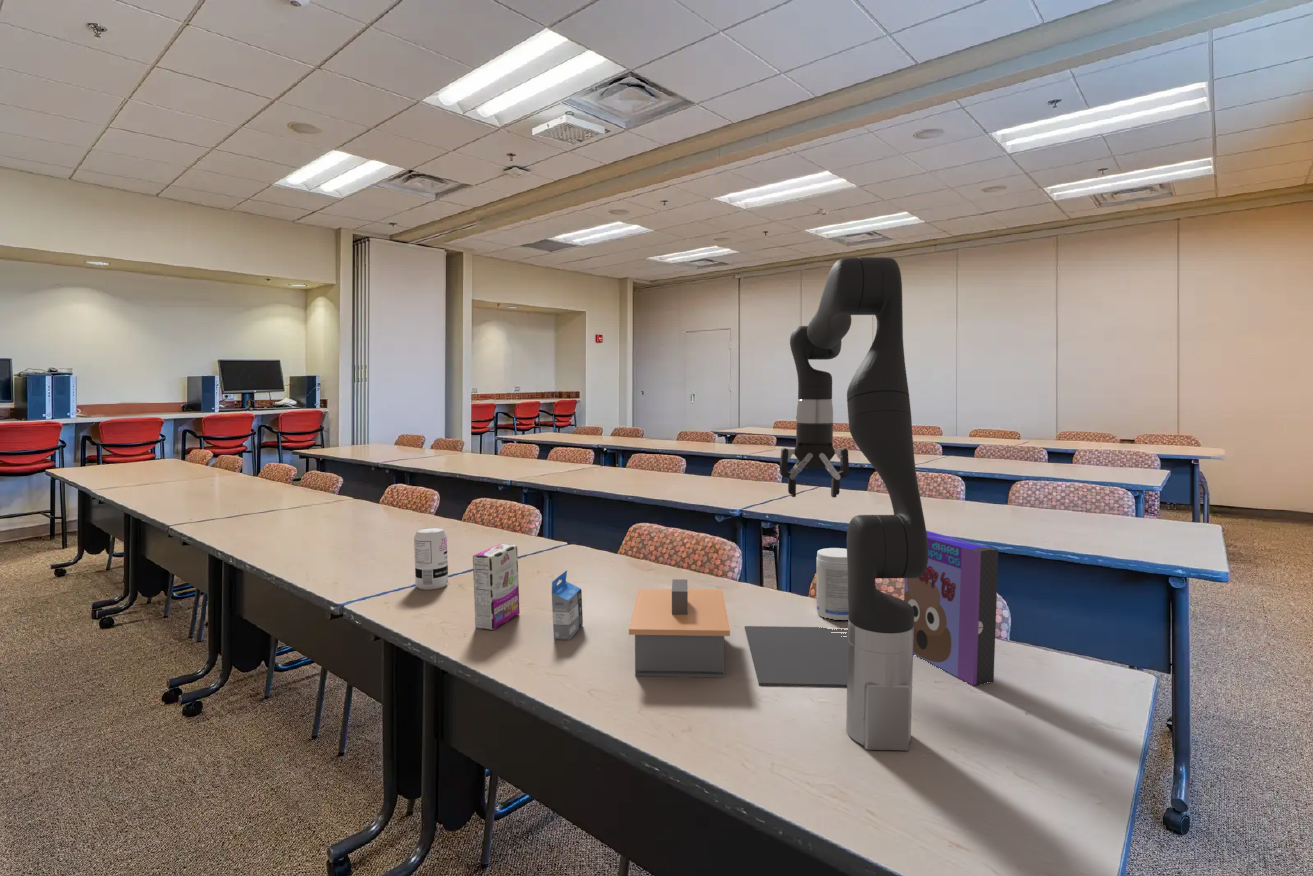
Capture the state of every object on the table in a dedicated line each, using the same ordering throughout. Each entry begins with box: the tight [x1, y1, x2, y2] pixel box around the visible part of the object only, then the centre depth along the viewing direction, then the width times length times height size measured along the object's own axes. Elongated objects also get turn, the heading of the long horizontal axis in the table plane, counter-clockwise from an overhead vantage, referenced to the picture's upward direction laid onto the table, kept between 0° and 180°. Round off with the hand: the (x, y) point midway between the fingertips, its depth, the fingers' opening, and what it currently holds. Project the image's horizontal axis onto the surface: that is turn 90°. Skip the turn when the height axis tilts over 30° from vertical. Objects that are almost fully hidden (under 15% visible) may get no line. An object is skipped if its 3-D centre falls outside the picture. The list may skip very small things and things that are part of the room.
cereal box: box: [903, 529, 999, 687], centre depth 123 cm, size 17×5×24 cm, turn 21°
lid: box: [628, 578, 731, 637], centre depth 130 cm, size 18×24×6 cm
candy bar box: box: [472, 543, 520, 631], centre depth 147 cm, size 11×5×16 cm, turn 161°
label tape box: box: [551, 570, 584, 641], centre depth 141 cm, size 9×4×12 cm, turn 168°
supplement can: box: [413, 526, 449, 591], centre depth 174 cm, size 8×8×15 cm
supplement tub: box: [816, 547, 849, 621], centre depth 151 cm, size 10×10×15 cm
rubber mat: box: [744, 625, 848, 688], centre depth 129 cm, size 28×24×1 cm
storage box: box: [634, 635, 725, 678], centre depth 130 cm, size 16×22×8 cm
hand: (813, 496), depth 141 cm, fingers open, 8 cm apart
